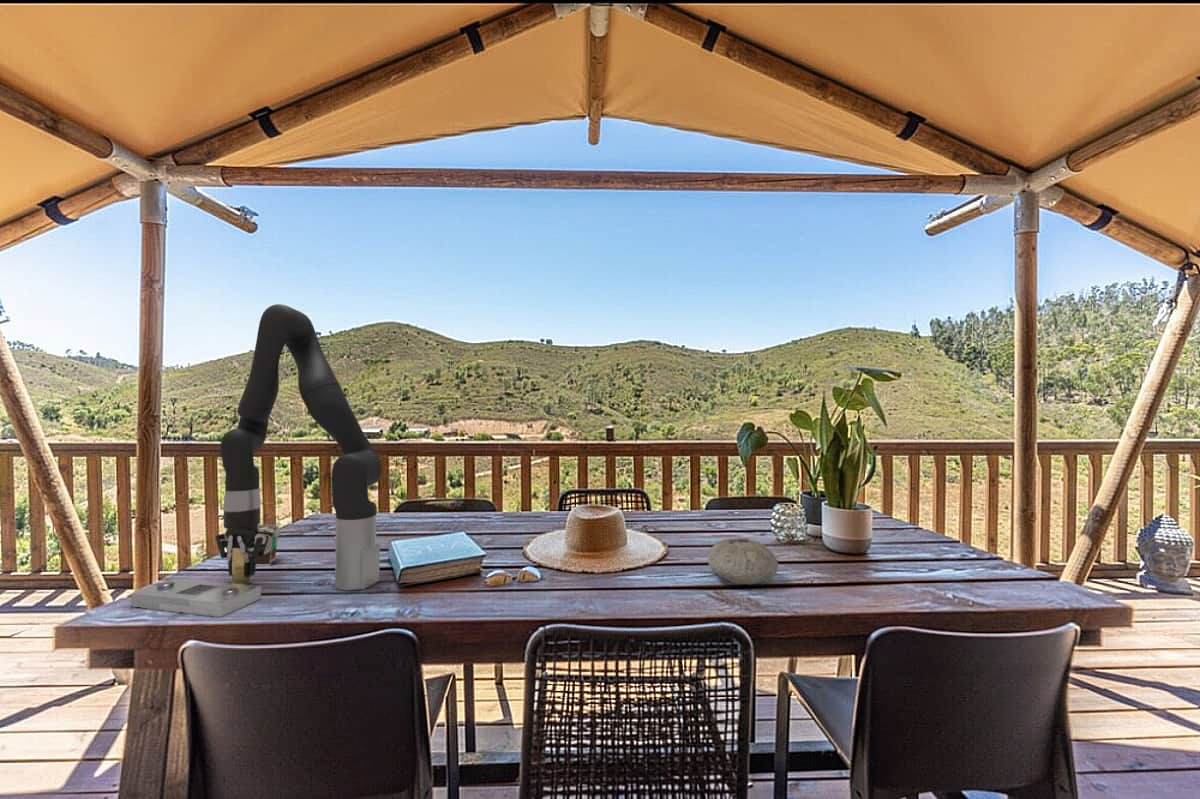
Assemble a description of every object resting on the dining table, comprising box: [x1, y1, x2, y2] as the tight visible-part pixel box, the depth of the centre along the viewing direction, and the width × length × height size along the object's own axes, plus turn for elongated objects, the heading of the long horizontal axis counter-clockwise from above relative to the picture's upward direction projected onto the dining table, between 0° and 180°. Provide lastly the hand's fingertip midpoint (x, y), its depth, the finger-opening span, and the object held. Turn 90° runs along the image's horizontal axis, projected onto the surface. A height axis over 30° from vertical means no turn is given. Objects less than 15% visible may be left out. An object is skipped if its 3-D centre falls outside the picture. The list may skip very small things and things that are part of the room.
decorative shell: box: [707, 537, 779, 586], centre depth 131 cm, size 18×18×10 cm
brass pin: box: [231, 546, 253, 585], centre depth 125 cm, size 4×4×9 cm
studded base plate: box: [130, 577, 262, 618], centre depth 113 cm, size 24×10×4 cm, turn 79°
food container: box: [256, 524, 282, 566], centre depth 142 cm, size 12×6×10 cm, turn 84°
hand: (241, 575), depth 125 cm, fingers closed on brass pin, 4 cm apart
